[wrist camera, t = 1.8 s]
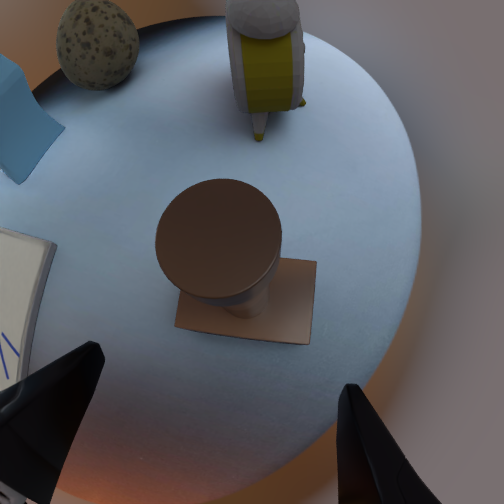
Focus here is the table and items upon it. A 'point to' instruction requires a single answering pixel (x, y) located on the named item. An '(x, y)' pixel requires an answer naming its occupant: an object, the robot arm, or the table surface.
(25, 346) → the board
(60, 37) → the decorative egg
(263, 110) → the alarm clock
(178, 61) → the table surface
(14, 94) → the vase
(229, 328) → the wooden rubber stamp
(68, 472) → the table surface
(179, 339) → the table surface
